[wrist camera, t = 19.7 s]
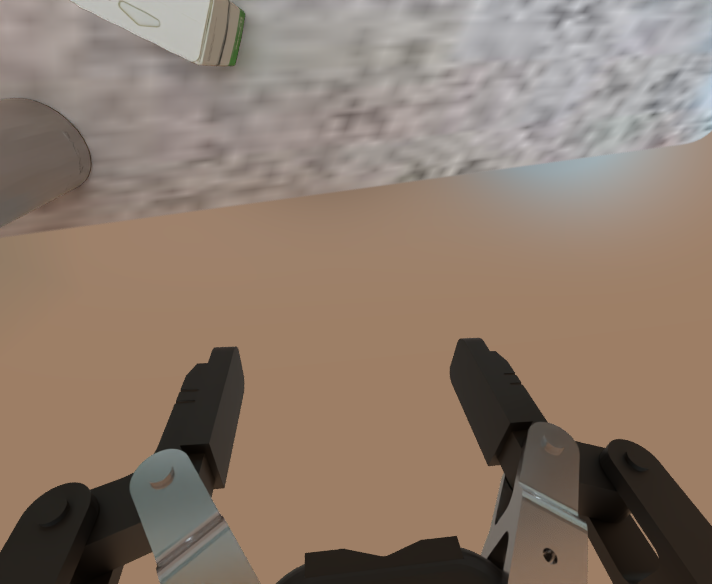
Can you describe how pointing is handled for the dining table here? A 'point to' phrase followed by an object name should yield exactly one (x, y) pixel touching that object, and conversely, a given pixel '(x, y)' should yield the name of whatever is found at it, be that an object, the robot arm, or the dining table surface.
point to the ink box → (179, 25)
